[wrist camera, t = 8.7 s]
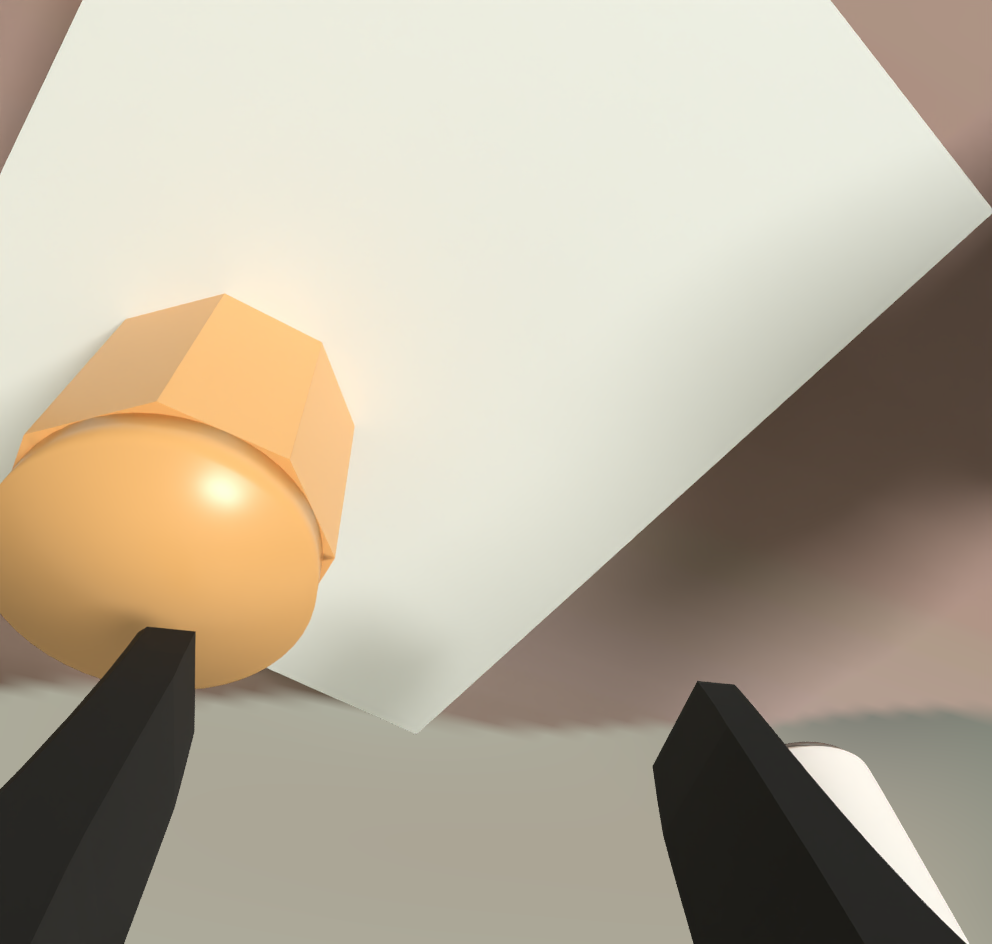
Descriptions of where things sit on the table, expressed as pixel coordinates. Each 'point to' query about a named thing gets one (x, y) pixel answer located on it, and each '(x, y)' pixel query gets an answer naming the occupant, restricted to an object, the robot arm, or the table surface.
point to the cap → (179, 493)
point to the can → (871, 817)
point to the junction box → (476, 264)
